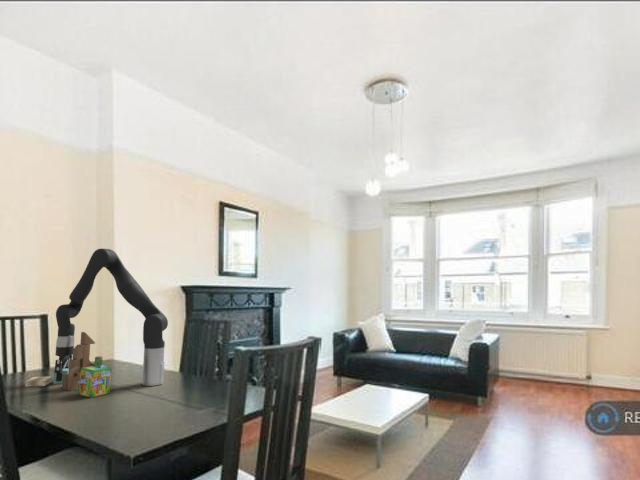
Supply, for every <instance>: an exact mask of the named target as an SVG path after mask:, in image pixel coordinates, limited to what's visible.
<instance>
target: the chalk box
mask: <svg viewBox="0 0 640 480" xmlns="http://www.w3.org/2000/svg"><path fill="white" fill-rule="evenodd" d="M97 362H99V365H97ZM93 364H94V366H90V367H83V368H81V373H80V380H79V382H78V396H83V397H86V398H89V399H91V398H96V397H99V396H103V395H108V394H110V393H111V384H112V383H111V380H112V373H113V372H112V371H113V370H112V369H113V368H112V367H111V366H108V365H106V364H105V365H103V359H102V360H101V359H96V360H95V359H94V363H93ZM101 364H102V365H101Z"/></svg>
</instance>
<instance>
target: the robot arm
mask: <svg viewBox="0 0 640 480" xmlns="http://www.w3.org/2000/svg"><path fill="white" fill-rule="evenodd" d="M124 265H125V264H123V262H122V260H121V259H120V257H119V255H118V254H117V252H115V251H114V250H113V249H110V248H98V249H95V250H94V252H93V253H92V255H91V257H90V258H89V261H88V263H87V266H86V267H85V269H84V272H83V273H82V275H81V278H80V279H79V280H78V282H77V283H76V285H75V286H74V287H73V289H72V291H71V292H70V294H69V297H68V299H69V300H70V302H69V303H68V304H67V303H64V304H61V305H58V308H56V311H55V319H56V323H57V328H58V329H57V337H56V338H57V339H56V343H55V356H56V357H58V359H55V362H54V365H55V366H54V371H53V374H54V373H57V375H56V381H62V372H63V369H65V368H69V360H71V359H73V349H74V348H75V330H76V329H75V328H76V327H75V324H74V323H71V319H74V318H76V317H77V316H79V314H80V313H81V310H82V308H83V305H84V302H85V300H86V299H87V297H88V296H89V295H90V293H91V291H92V289H93V286H94V283H95V279H96V277H97V276H98V274H99V272H101V270H102V269H104V268H105V269H106V270H107V271H108V272H109V273H110V274H111V275H112V277H113V278H114V279H113V280H114V281H115V286H116V288H117V291H118V292H119V294H120V295H121V296H122V298H123V299H124V300H125V302H127V303H128V304H129V305H130V306H132V307H133V308H134V309H136V310H137V311H138V312H139V313H141V314H142V316H143V317H144V322H143V328H142V329H143V330H142V336H143V337H142V341H143V345H144V346H143V348H144V349H143V363H142V366H143V367H142V379H141V380H142V381H141V382H142V383H141V384H142V386H147V387H151V386H160V385H163V383H164V378H165V346H166V344H165V340H164V338H163V332H164V331H165V330H166V329H167V327H168V325H169V320H168V318H167V316H166V315H165V314H164V313H163V312H162V311H161V310H160V309H159V308H158V307H157V306H156V305H155V303H154V302H153V301H152V300H151V298H150V297H149V296H148V294H147V293H146V292H145V290H144V289H143V288H142V287H141V285H140V284H139V283H138V282H137V280H136V279H135V278H134V276H133V275H132V274H131V273H130V272H129V270H128V269H127V268H126V266H124Z"/></svg>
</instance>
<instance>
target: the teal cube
mask: <svg viewBox="0 0 640 480" xmlns="http://www.w3.org/2000/svg"><path fill="white" fill-rule="evenodd" d="M68 372H69V368H65V369H63V372H62V380H63V375H65V374H68ZM56 375H57V373H54V372H53V377H52V384H53V385H55V384H56V385H57V384H58V385H59V384H61V385H62V381H56Z"/></svg>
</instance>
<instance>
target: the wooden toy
mask: <svg viewBox="0 0 640 480" xmlns="http://www.w3.org/2000/svg"><path fill="white" fill-rule="evenodd" d="M79 342H80V343H79V344H77V345H75V346H74V349H73V355H72V359H71V360H69V372H68V374H65V375H63V380H62V384H61V390H65V391H76V390H79V383H80V373H81V368H83V367H90V366H94V363H92V362H91V360H90V354H91V353H90V352H91V351H90V350H91V345H95V344H96V341H94V340H93V339H92V338H91V336H90V335H88V334H87V333H86V331H81V333H80V341H79ZM96 359H101V360H103V356H102V355H101V356H95V357H94V361H95V360H96ZM97 365H99V362H97ZM101 365H103V363H102V364H101Z"/></svg>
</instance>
